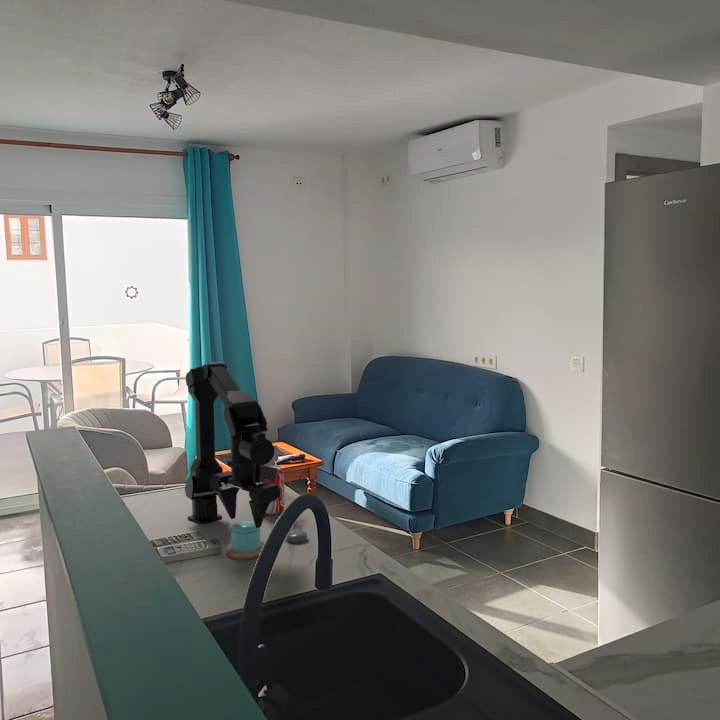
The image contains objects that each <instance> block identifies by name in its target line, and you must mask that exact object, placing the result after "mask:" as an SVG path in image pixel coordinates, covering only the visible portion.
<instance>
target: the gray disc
mask: <svg viewBox="0 0 720 720" xmlns="http://www.w3.org/2000/svg"><path fill="white" fill-rule="evenodd" d="M289 532H290V533H289V535H288V536H287V539H286V538H285V541H286V542H287V543H290V544H301V543H305V542H306V541H307V539H308V533H307V532H306V531H303V530H302V531H301V530H292V531H289Z"/></svg>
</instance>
